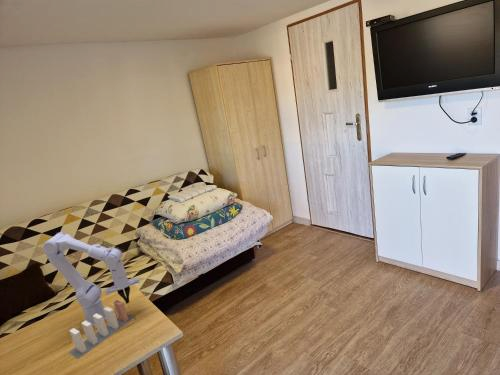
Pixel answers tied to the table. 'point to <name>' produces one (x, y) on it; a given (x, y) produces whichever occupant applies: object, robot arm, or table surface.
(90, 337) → the domino
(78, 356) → the mat
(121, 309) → the domino
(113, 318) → the domino
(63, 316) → the table surface
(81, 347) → the domino
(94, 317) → the domino
